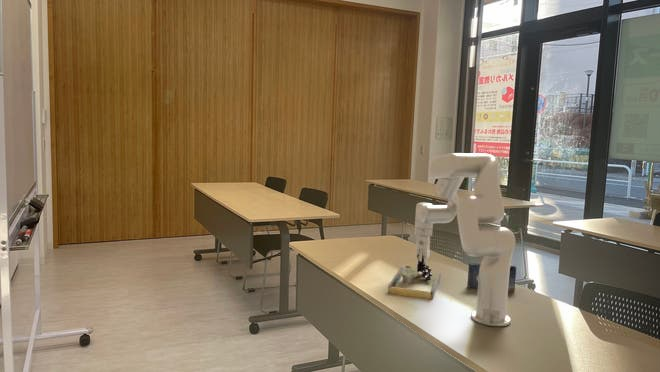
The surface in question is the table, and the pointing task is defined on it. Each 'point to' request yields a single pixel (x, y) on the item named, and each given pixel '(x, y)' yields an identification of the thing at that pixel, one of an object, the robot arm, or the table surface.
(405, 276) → the valve
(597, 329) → the table surface
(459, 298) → the table surface
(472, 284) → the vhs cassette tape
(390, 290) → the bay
